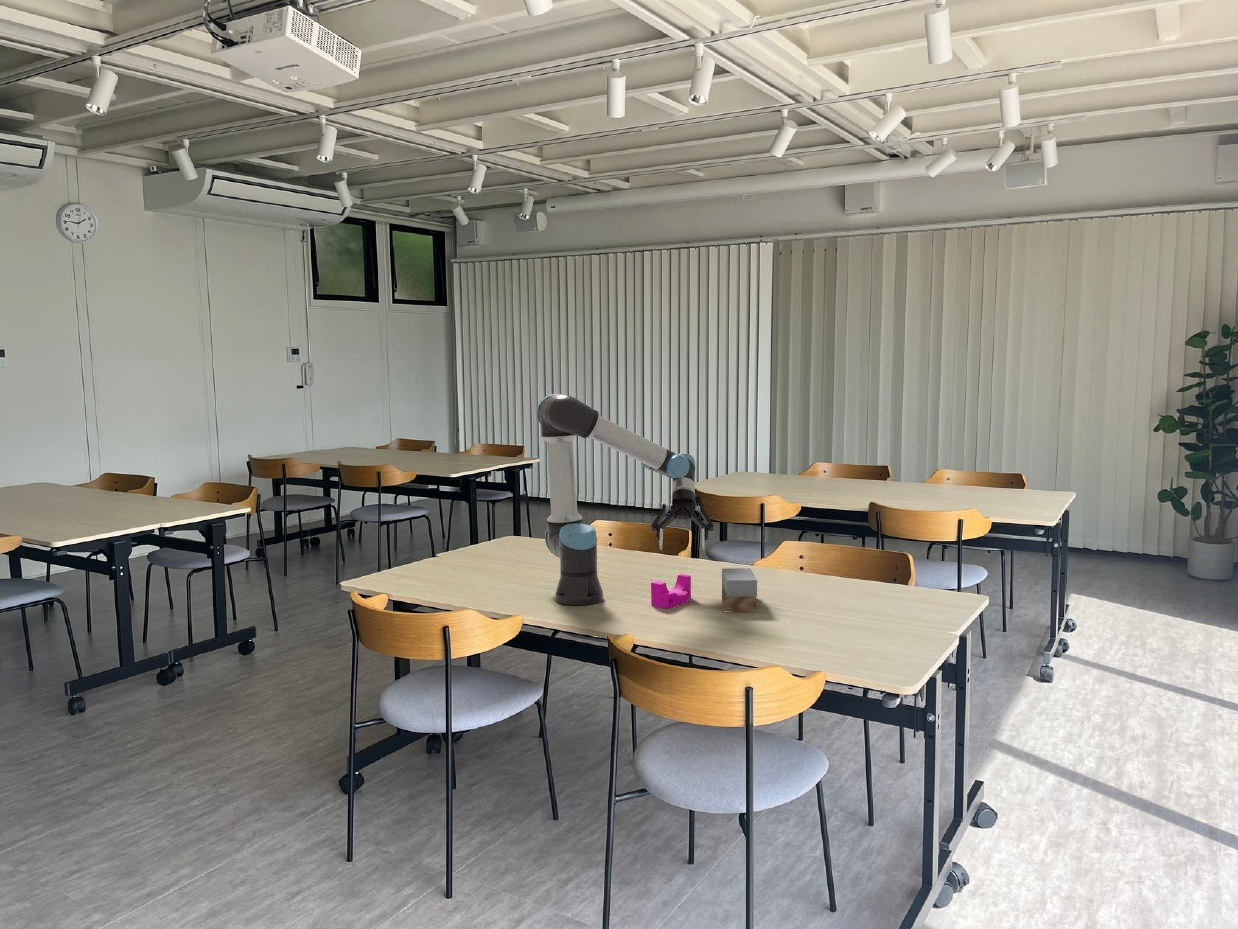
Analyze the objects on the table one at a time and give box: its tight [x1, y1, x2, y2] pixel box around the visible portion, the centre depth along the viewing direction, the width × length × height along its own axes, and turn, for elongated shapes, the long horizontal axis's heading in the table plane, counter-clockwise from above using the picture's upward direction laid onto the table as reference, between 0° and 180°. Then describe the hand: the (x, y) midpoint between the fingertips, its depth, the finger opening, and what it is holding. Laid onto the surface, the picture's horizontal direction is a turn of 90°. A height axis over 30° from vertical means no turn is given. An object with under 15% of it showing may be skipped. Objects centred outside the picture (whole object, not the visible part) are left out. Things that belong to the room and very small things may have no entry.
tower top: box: [721, 567, 758, 598], centre depth 281 cm, size 9×16×5 cm, turn 179°
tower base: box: [721, 584, 757, 613], centre depth 282 cm, size 10×18×5 cm, turn 174°
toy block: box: [650, 573, 692, 610], centre depth 285 cm, size 15×6×8 cm, turn 137°
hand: (681, 547), depth 293 cm, fingers open, 13 cm apart
